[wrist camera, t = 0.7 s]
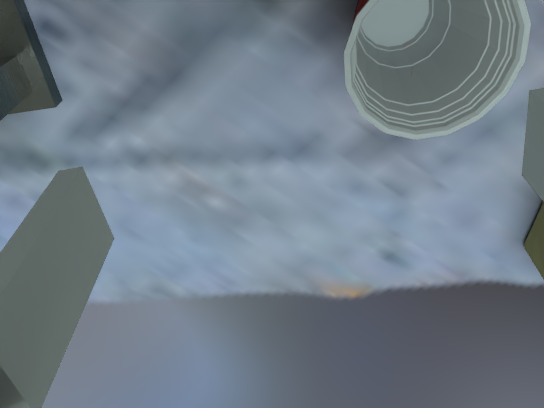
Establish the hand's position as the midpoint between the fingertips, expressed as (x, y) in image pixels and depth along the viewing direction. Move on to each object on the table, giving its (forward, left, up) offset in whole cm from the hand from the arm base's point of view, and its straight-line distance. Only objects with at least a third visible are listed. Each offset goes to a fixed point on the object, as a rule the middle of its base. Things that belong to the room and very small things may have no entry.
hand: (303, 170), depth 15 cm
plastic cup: (+3, +8, -28) cm, 29 cm away
